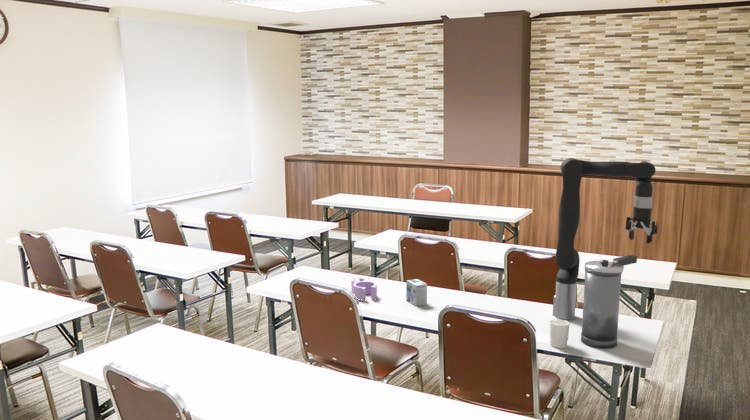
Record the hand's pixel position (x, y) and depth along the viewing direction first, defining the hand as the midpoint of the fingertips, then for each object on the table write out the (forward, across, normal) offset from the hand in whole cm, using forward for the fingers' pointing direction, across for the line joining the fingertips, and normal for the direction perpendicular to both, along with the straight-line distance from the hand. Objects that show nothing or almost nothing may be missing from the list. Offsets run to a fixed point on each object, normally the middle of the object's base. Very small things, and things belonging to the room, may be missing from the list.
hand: (640, 241), depth 271 cm
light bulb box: (+38, -78, -68) cm, 110 cm away
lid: (+6, +7, -28) cm, 30 cm away
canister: (+38, +7, -35) cm, 52 cm away
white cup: (+38, 0, -52) cm, 65 cm away
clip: (+38, -103, -85) cm, 139 cm away
